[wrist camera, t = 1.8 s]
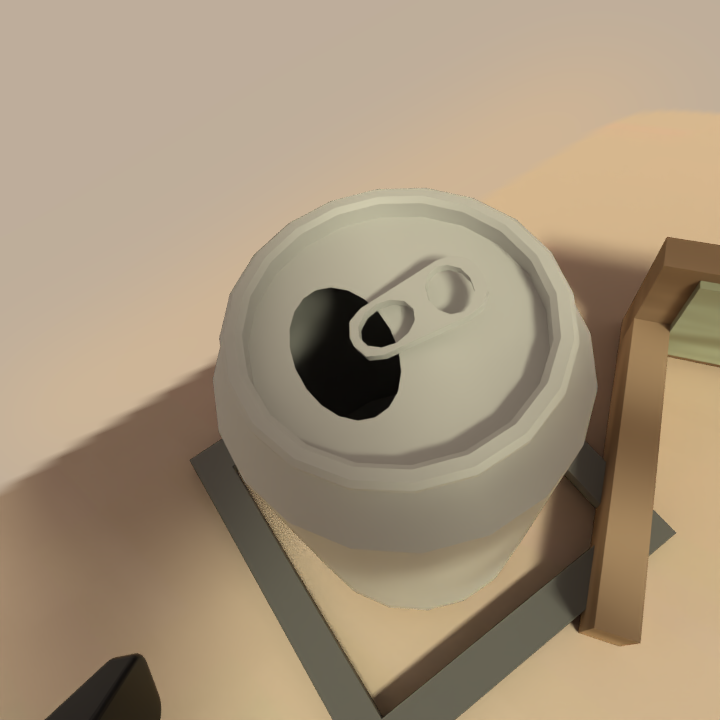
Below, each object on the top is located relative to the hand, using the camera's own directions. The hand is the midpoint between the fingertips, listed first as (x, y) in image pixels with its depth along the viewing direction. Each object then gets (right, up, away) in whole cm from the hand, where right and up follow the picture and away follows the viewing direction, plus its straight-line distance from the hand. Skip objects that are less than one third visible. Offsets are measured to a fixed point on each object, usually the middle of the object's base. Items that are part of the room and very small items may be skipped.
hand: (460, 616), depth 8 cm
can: (+1, -1, +12) cm, 12 cm away
